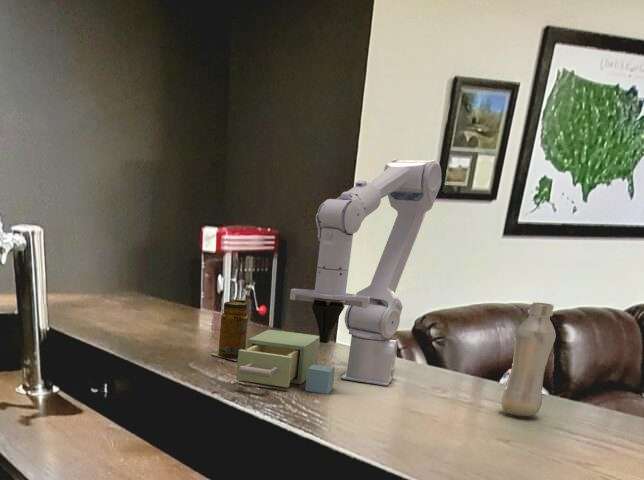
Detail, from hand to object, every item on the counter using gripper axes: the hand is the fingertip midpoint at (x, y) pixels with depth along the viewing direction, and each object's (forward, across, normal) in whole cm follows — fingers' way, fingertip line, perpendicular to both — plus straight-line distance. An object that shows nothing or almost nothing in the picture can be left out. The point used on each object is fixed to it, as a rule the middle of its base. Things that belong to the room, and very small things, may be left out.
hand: (324, 342), depth 137 cm
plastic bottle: (+10, +36, +4) cm, 37 cm away
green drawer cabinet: (+9, -10, +9) cm, 16 cm away
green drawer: (+8, -10, -2) cm, 13 cm away
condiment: (+10, -24, +18) cm, 31 cm away
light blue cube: (+9, 0, 0) cm, 9 cm away
